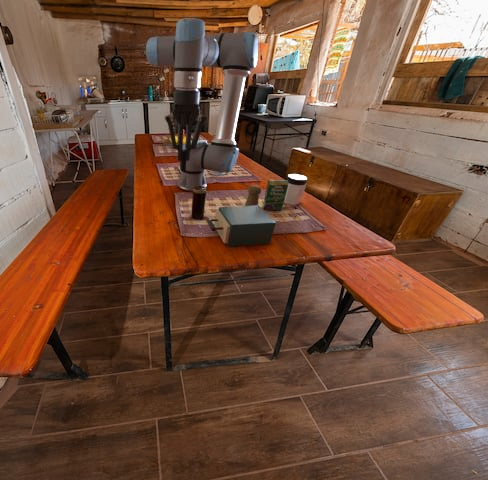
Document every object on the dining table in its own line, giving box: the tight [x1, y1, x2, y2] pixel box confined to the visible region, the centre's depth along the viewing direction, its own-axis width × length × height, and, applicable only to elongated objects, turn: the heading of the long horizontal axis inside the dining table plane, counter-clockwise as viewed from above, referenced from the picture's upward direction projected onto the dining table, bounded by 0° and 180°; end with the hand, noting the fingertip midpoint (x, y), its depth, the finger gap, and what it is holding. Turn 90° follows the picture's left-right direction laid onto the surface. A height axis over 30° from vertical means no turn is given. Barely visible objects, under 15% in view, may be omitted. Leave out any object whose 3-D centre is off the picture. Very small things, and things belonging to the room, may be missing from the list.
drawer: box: [205, 209, 230, 245], centre depth 92 cm, size 19×12×7 cm, turn 98°
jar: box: [283, 173, 308, 206], centre depth 118 cm, size 9×8×12 cm
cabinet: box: [218, 204, 277, 247], centre depth 92 cm, size 16×14×9 cm
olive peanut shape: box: [244, 184, 262, 206], centre depth 110 cm, size 6×6×11 cm
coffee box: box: [262, 179, 289, 212], centre depth 111 cm, size 8×3×13 cm, turn 81°
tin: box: [190, 186, 208, 221], centre depth 103 cm, size 5×5×12 cm
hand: (182, 170), depth 86 cm, fingers closed
